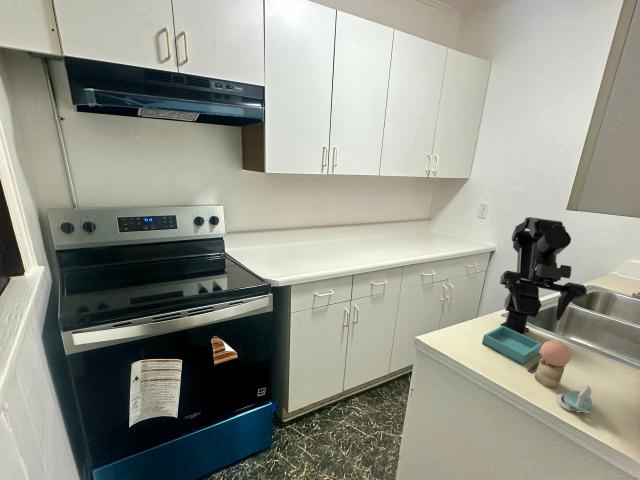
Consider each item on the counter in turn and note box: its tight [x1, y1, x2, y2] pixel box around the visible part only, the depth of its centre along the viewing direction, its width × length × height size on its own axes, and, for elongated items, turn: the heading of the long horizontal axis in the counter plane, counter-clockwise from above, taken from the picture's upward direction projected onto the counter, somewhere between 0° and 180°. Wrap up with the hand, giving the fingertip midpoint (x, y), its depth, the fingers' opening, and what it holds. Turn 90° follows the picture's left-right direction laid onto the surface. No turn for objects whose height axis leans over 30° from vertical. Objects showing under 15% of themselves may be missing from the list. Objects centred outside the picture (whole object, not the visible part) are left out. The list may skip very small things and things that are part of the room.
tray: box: [481, 325, 543, 366], centre depth 93 cm, size 11×11×3 cm
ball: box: [540, 339, 572, 366], centre depth 78 cm, size 6×6×6 cm
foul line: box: [527, 361, 539, 374], centre depth 87 cm, size 14×1×1 cm, turn 125°
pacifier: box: [556, 385, 593, 415], centre depth 72 cm, size 7×6×6 cm
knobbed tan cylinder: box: [534, 357, 566, 389], centre depth 79 cm, size 5×5×6 cm
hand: (537, 315), depth 84 cm, fingers open, 9 cm apart
